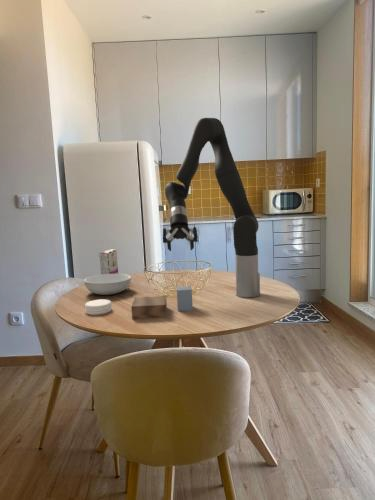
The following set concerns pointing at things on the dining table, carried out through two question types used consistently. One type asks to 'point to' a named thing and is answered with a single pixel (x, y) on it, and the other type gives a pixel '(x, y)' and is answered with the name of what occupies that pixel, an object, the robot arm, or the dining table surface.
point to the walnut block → (149, 307)
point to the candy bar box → (108, 262)
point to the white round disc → (98, 307)
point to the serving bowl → (107, 283)
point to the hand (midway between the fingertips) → (181, 249)
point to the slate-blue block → (184, 298)
